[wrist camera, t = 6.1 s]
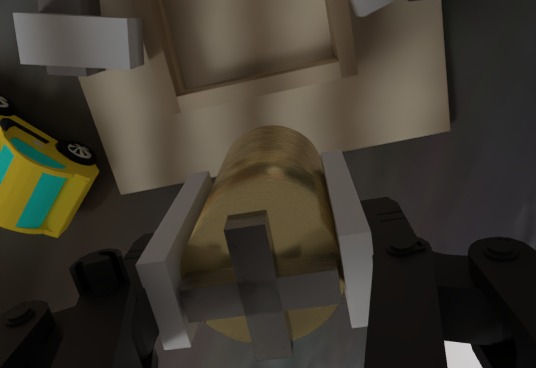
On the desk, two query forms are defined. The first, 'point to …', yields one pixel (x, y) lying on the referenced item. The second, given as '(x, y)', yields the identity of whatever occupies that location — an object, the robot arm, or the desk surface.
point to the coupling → (265, 245)
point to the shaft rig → (241, 75)
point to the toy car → (40, 177)
